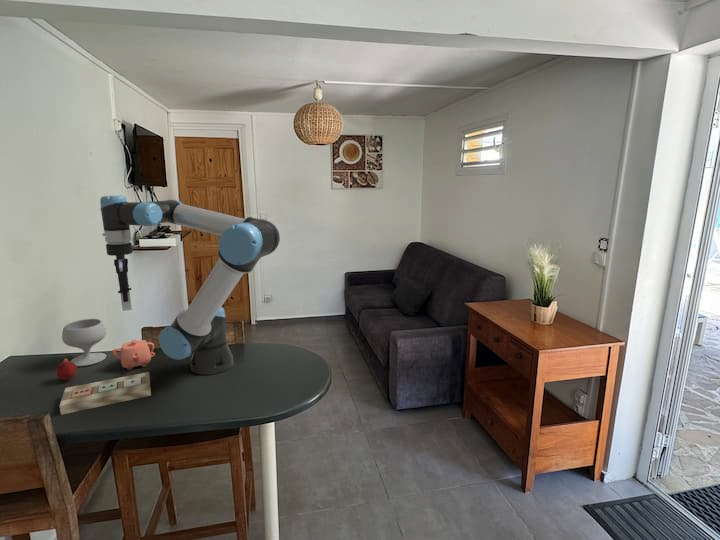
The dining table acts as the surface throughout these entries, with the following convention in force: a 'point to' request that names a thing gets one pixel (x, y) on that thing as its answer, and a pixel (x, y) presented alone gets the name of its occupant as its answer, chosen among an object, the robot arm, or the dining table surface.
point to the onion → (66, 370)
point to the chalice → (84, 339)
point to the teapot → (135, 354)
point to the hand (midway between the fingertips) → (127, 309)
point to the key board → (105, 394)
